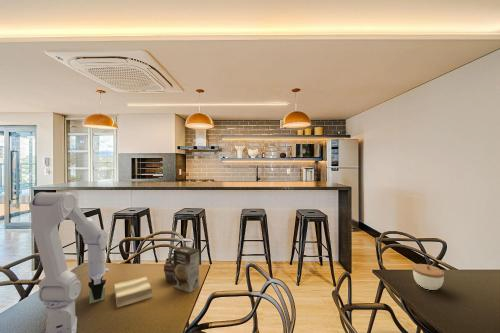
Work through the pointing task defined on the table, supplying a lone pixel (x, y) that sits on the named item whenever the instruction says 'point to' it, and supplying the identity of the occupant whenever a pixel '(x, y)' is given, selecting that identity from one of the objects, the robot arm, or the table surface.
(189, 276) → the coffee box
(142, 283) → the birch block
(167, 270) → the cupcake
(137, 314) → the table surface
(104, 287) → the sage cube
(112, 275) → the table surface
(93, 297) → the robot arm
